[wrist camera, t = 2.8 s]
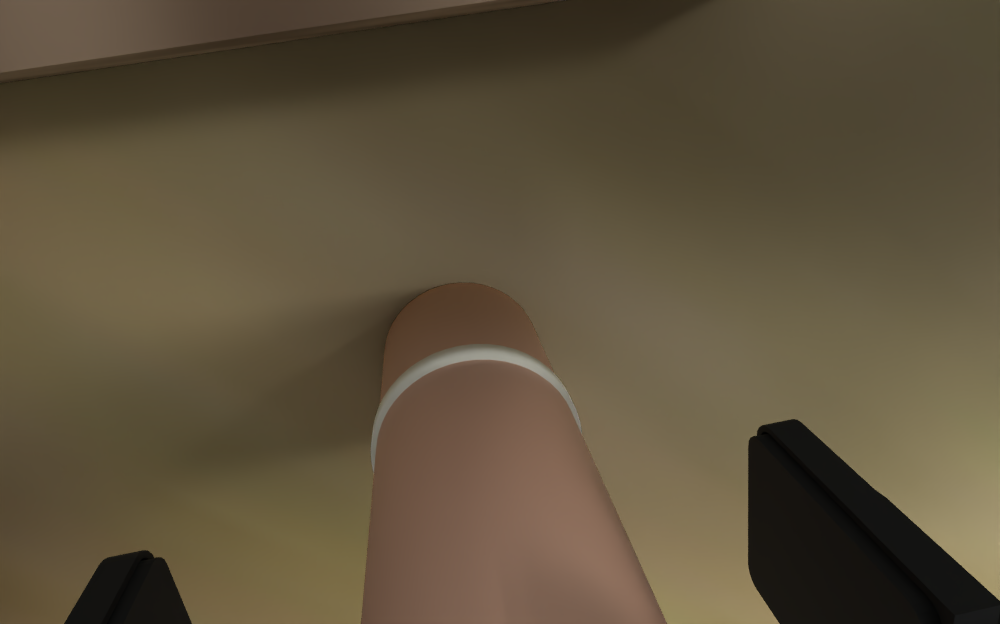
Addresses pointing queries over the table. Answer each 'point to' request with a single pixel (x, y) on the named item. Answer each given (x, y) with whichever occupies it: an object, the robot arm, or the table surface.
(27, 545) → the table surface
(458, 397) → the peg
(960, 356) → the table surface
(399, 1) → the board
